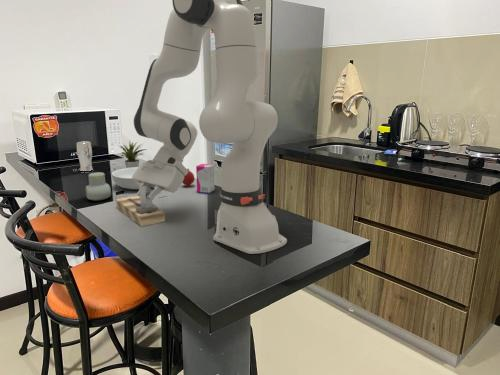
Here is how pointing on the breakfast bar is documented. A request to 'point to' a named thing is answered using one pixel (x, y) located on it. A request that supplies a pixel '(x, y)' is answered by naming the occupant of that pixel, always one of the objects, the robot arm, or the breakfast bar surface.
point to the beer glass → (85, 155)
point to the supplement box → (205, 178)
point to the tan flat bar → (142, 219)
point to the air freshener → (97, 187)
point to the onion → (188, 178)
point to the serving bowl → (125, 178)
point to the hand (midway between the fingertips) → (144, 197)
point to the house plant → (131, 155)
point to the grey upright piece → (145, 200)
